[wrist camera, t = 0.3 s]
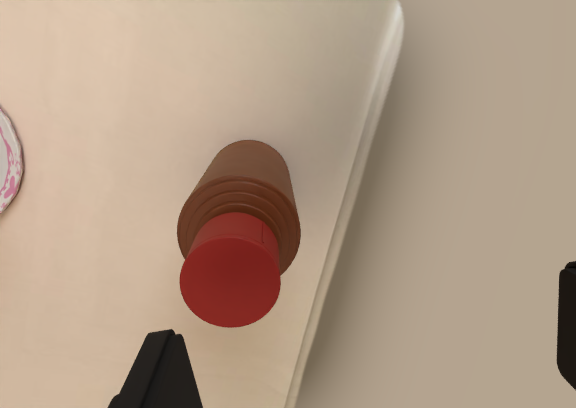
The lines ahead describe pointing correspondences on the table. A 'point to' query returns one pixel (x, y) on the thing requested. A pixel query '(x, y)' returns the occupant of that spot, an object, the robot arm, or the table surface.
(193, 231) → the bottle
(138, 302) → the table surface
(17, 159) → the teacup
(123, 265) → the table surface
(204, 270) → the cap
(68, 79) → the table surface
